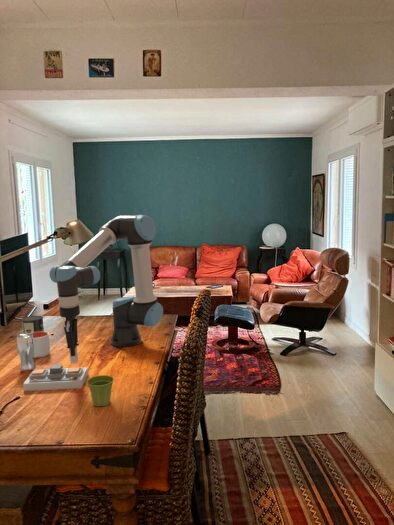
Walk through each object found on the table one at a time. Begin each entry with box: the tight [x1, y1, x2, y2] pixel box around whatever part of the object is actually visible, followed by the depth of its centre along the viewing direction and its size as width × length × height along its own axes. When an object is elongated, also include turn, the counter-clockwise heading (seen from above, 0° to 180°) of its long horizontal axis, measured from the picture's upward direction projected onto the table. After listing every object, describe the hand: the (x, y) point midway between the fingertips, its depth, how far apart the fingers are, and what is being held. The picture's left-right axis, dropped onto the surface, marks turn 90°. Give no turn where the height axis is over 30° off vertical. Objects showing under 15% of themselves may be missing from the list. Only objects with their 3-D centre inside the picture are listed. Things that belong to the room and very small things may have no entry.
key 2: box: [68, 366, 81, 373], centre depth 180 cm, size 4×4×2 cm
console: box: [22, 366, 89, 392], centre depth 179 cm, size 22×14×4 cm, turn 93°
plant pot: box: [86, 374, 115, 407], centre depth 159 cm, size 9×9×9 cm
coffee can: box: [21, 315, 45, 334], centre depth 227 cm, size 10×10×14 cm
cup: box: [31, 331, 51, 359], centre depth 212 cm, size 10×10×10 cm
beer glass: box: [16, 333, 36, 372], centre depth 195 cm, size 7×7×15 cm
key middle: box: [49, 364, 64, 373], centre depth 179 cm, size 4×4×2 cm
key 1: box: [31, 368, 45, 375], centre depth 179 cm, size 4×4×2 cm
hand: (74, 362), depth 179 cm, fingers closed
